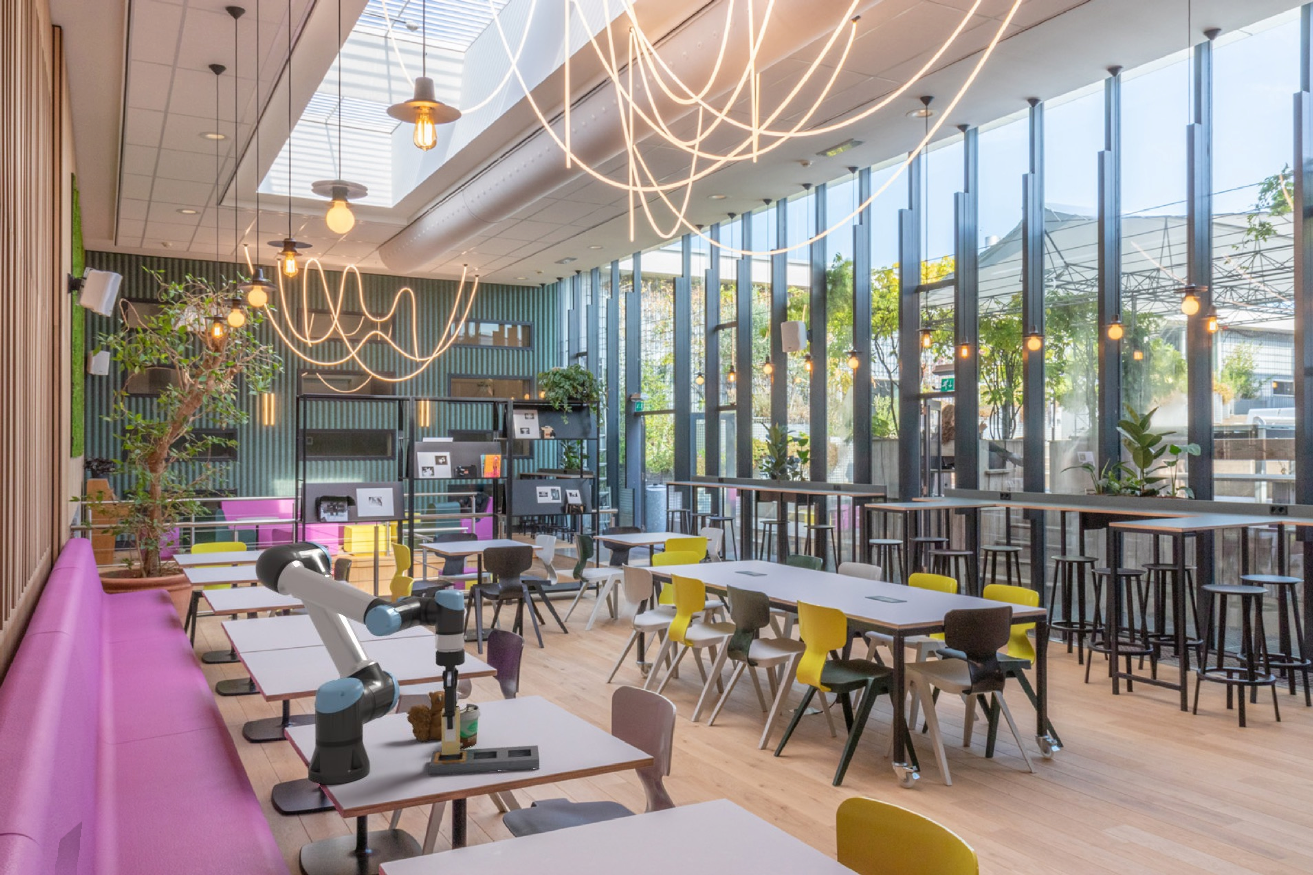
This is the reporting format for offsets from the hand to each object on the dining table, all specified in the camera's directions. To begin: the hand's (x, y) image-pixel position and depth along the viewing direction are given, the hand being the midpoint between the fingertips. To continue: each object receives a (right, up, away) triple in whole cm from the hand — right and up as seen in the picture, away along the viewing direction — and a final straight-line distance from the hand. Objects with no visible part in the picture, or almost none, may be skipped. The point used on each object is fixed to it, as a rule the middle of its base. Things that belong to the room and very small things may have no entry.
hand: (450, 737), depth 246 cm
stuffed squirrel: (-11, -9, +26) cm, 30 cm away
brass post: (0, -4, 0) cm, 4 cm away
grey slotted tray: (+9, -7, +1) cm, 12 cm away
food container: (+1, -8, +19) cm, 21 cm away
